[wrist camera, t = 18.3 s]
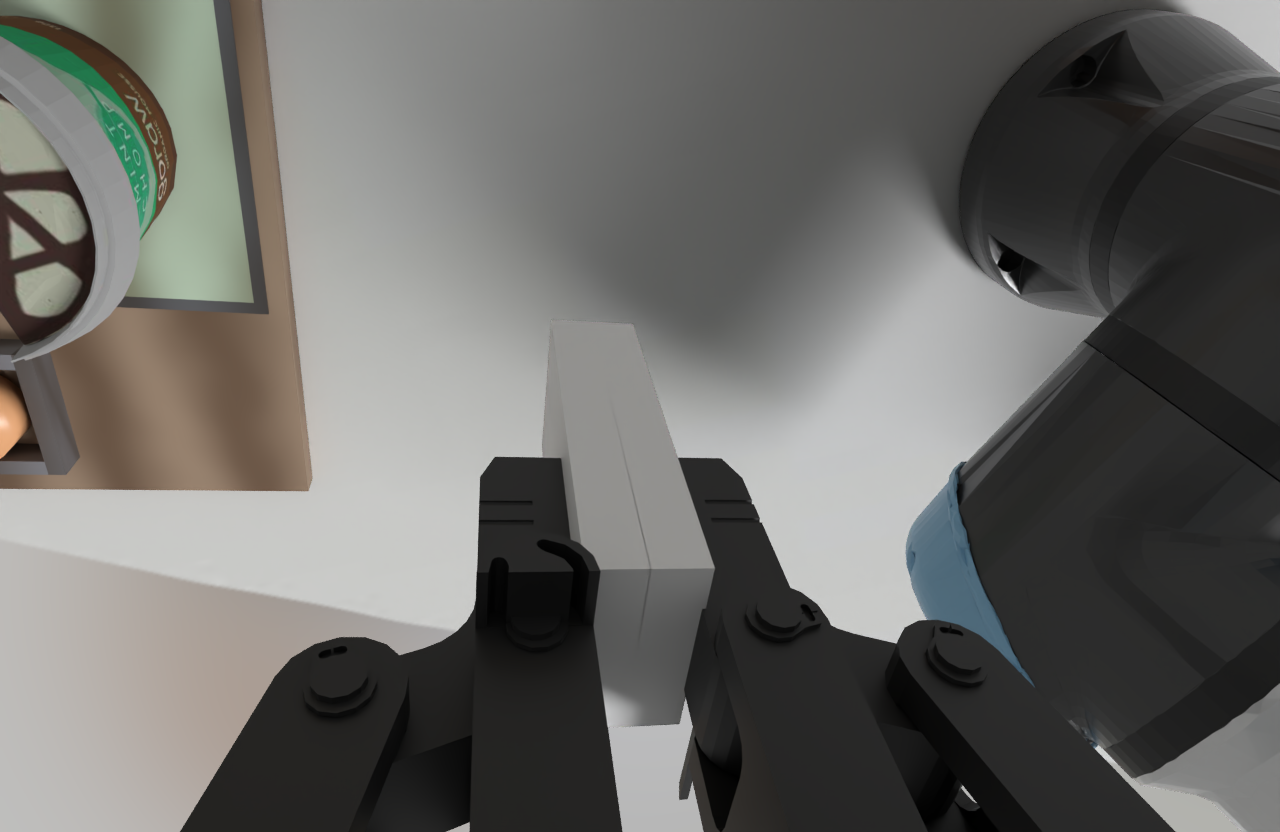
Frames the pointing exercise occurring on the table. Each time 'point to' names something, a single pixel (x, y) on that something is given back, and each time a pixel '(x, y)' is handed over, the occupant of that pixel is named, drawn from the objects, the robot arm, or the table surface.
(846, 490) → the table surface
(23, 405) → the button
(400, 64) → the table surface
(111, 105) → the food container
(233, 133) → the picture board
